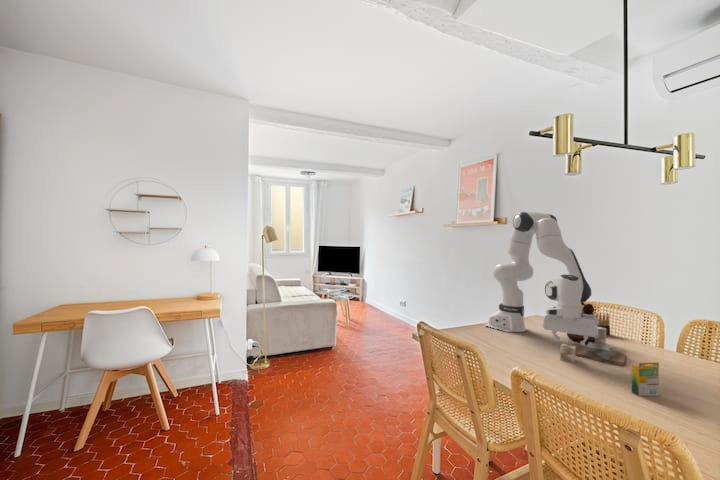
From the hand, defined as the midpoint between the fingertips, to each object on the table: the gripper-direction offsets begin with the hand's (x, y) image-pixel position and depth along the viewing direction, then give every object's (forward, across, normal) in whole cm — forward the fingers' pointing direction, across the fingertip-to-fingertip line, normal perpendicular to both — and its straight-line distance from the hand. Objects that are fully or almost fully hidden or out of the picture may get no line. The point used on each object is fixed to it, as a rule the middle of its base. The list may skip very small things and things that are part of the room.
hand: (569, 343), depth 138 cm
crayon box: (+8, -24, +18) cm, 31 cm away
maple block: (+8, +1, 0) cm, 8 cm away
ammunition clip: (+7, -7, -55) cm, 56 cm away
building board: (+8, -7, -16) cm, 19 cm away
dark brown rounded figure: (+8, -2, -37) cm, 38 cm away
